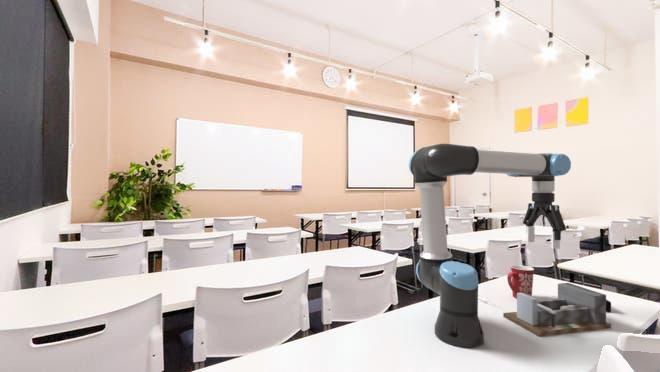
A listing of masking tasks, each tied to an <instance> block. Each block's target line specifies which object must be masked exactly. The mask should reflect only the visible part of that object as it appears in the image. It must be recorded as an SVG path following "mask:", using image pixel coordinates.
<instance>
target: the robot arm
mask: <svg viewBox="0 0 660 372" xmlns="http://www.w3.org/2000/svg"><path fill="white" fill-rule="evenodd" d="M408 161H409V162H408V167H409V169H408V170H409V172H410V174H412V176H413V178H414V185H416V186H417V187H418V189H419V201H420V203H419V204H420V215H421V217H420V218H421V228H422V229H421V232H422V233H421V234H422V246H423V250H422V251H421V252H420V254H419V260H418V262H417V264H416V266H415V274H416V276H417V279H418V280H419V282H420V283H421V284H423V286H424V287H426V288H427V289H429V290H431V291H432V292H434V293H435V294H437V295H438V296H439V311H438V312H439V313H438V315H437V318H436V321H435V324H434V334H435V336H436V337H437V338H438V340H441V341H442V342H444V343H447V344H449V345H452V346H456V347H461V348H475V347H480V346H481V345H483V344H484V341H485V339H484V338H485V334H484V329H483V327H482V324H481V322H480V318H479V299H478V298H479V297H478V295H479V284H480V282H479V276H478V272H477V270H476V269H475V267H473V266H472V265H471V264H470V265H469V264H468V263H465V262H463V263H462V262H461V261H455V260H453V254H452V253H451V252H450V251H449V250H448V240H447V224H446V222H447V221H446V209H445V208H446V207H445V194H444V186H445V185H446V184H447V183H448V177H453V176H461V175H462V176H463V175H466V176H471V175H473V174H474V173H487V174H489V173H490V174H503V175H505V174H506V176H508V177H512V178H513V177H514V178H531V191H532V193H531V201H532V202H533V203H531V202H529V203H528V204H527V210H526V212H525V215H524V218H523V221H522V224H523V225H525V226H526V242H527V243H535V231H536V229H535V223H536V222H537V220H538V219H539V217H541V216H543V217H545V218H546V219H547V221H548V223H549V224H550V226H551V228H552V230H551V249H553V250H554V249H556V250H557V249H558V250H559V249H561V239H562V237H561V236H562V232H563V231H566V230H567V228H566V225H565V223H564V219H563V217H562V214H561V211H560V205H558V204H553V203H554V202H555V200H556V199H555V198H556V197H555V196H556V195H555V193H554V192H555V190H556V189H555V181H556V180H555V177H560V176H565V175H567V174H568V173H569V171H570V170H571V168H572V165H571V164H572V162H571V159H570V157H569V156H568V155H566V154H564V153H550V152H546V153H544V152H542V153H540V152H539V153H530V152H529V153H527V152H517V151H515V152H513V151H503V150H502V151H501V150H500V151H498V150H497V151H496V150H487V149H486V150H483V149H478V148H477V147H476V146H470V145H463V144H452V143H438V144H434V145H428V146H423V147H421V148H420V149H417V150H416V151H415V152H413V153H412V154H411V156H410V158H409V160H408Z"/></svg>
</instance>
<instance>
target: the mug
mask: <svg viewBox="0 0 660 372" xmlns="http://www.w3.org/2000/svg"><path fill="white" fill-rule="evenodd" d="M534 271H535V268H534V267H531V266H526V265H520V264H514V265H510V272H508V274H507V276H506V277H507V283H508V286H509V288H510V290H511V291H512V297H513V298H515V299H517V293H524V294H526V295H529V296H531V297H533V296H532V295H533V286H534V285H533V284H534Z"/></svg>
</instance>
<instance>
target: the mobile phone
mask: <svg viewBox="0 0 660 372" xmlns="http://www.w3.org/2000/svg"><path fill="white" fill-rule="evenodd" d="M606 313H612V302H611V301H610V300H608V299H606Z"/></svg>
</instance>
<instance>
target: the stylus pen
mask: <svg viewBox="0 0 660 372" xmlns="http://www.w3.org/2000/svg"><path fill="white" fill-rule="evenodd" d="M478 300H479V301H480V302H482V303H484V304H487V305H489V306H491V307H494V308H495V309H499V310H501V311H503V312H506V311H505V309H503V308H502V307H501V306H499V305H497V304H496V303H494V302H493V301H492V300H490V299H489V298H487V297H483V296H480V295H479V294H478Z"/></svg>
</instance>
